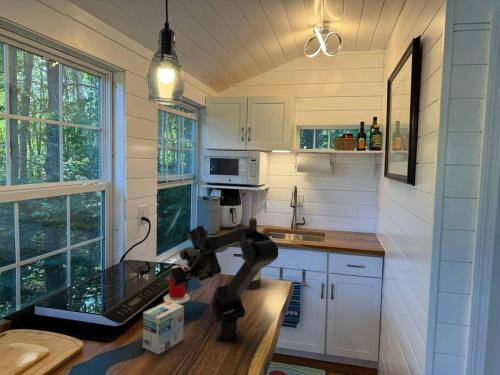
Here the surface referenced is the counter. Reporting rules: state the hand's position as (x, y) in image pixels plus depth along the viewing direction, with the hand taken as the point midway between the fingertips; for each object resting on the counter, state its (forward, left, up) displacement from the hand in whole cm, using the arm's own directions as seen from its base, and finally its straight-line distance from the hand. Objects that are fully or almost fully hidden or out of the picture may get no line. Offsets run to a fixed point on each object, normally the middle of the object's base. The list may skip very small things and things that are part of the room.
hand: (188, 283), depth 131 cm
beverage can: (+5, +6, -8) cm, 12 cm away
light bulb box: (-27, -2, -9) cm, 28 cm away
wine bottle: (+25, -20, -9) cm, 33 cm away
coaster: (+5, +6, -9) cm, 12 cm away
